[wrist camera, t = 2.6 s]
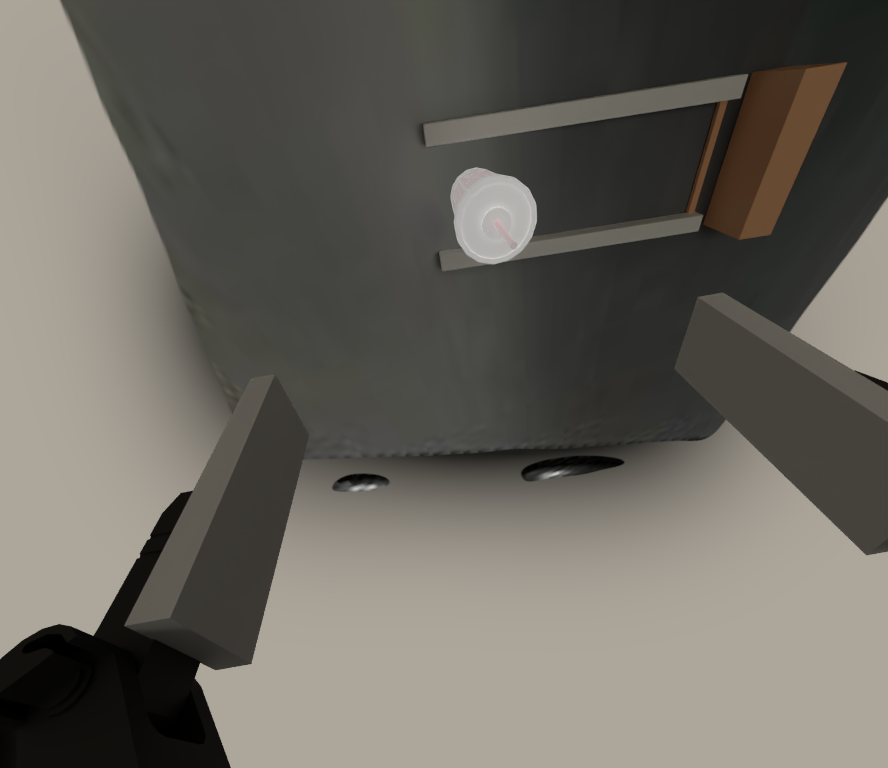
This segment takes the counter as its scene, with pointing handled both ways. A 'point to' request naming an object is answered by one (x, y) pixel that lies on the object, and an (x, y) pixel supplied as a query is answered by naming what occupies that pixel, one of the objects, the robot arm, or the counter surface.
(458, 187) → the beverage cup
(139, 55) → the counter surface
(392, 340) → the counter surface
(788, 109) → the channel
